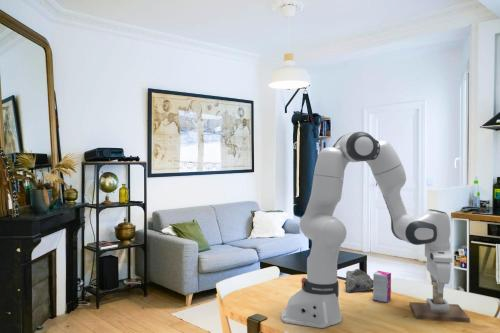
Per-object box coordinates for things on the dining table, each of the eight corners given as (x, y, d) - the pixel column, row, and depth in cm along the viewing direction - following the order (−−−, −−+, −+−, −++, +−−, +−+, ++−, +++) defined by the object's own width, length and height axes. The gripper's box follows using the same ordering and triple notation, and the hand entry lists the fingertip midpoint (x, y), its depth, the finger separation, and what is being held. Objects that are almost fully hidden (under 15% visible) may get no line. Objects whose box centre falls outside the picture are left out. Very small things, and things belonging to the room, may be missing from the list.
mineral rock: (377, 290, 185) (377, 267, 185) (371, 297, 176) (371, 273, 176) (349, 285, 192) (349, 264, 192) (342, 292, 182) (342, 269, 182)
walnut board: (416, 318, 151) (416, 314, 151) (409, 305, 165) (409, 301, 165) (469, 322, 147) (469, 318, 147) (457, 308, 161) (457, 304, 161)
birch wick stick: (434, 310, 155) (434, 284, 155) (432, 307, 158) (432, 282, 158) (443, 311, 154) (443, 284, 154) (441, 308, 157) (441, 282, 157)
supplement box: (386, 303, 167) (386, 275, 167) (372, 300, 171) (372, 273, 171) (391, 299, 172) (391, 272, 172) (377, 296, 176) (377, 270, 175)
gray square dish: (430, 312, 153) (430, 304, 153) (426, 305, 160) (426, 298, 160) (449, 313, 152) (449, 305, 152) (444, 306, 159) (444, 299, 159)
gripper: (422, 246, 166) (422, 280, 167) (434, 258, 146) (434, 296, 147) (439, 247, 165) (439, 281, 165) (453, 259, 145) (453, 298, 145)
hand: (437, 288), depth 156 cm, fingers open, 8 cm apart
